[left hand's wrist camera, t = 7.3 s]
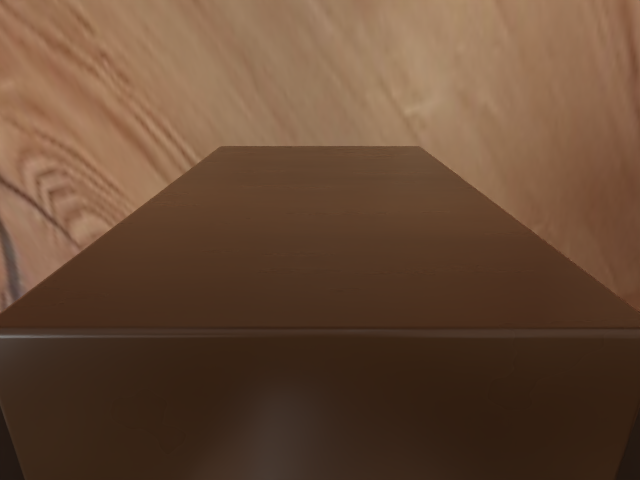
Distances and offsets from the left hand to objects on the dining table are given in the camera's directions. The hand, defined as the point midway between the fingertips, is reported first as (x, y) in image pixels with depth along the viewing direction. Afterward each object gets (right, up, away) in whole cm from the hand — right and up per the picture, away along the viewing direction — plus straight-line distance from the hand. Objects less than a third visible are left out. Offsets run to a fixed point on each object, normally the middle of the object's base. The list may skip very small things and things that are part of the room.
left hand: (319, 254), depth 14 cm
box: (0, -9, +4) cm, 10 cm away
